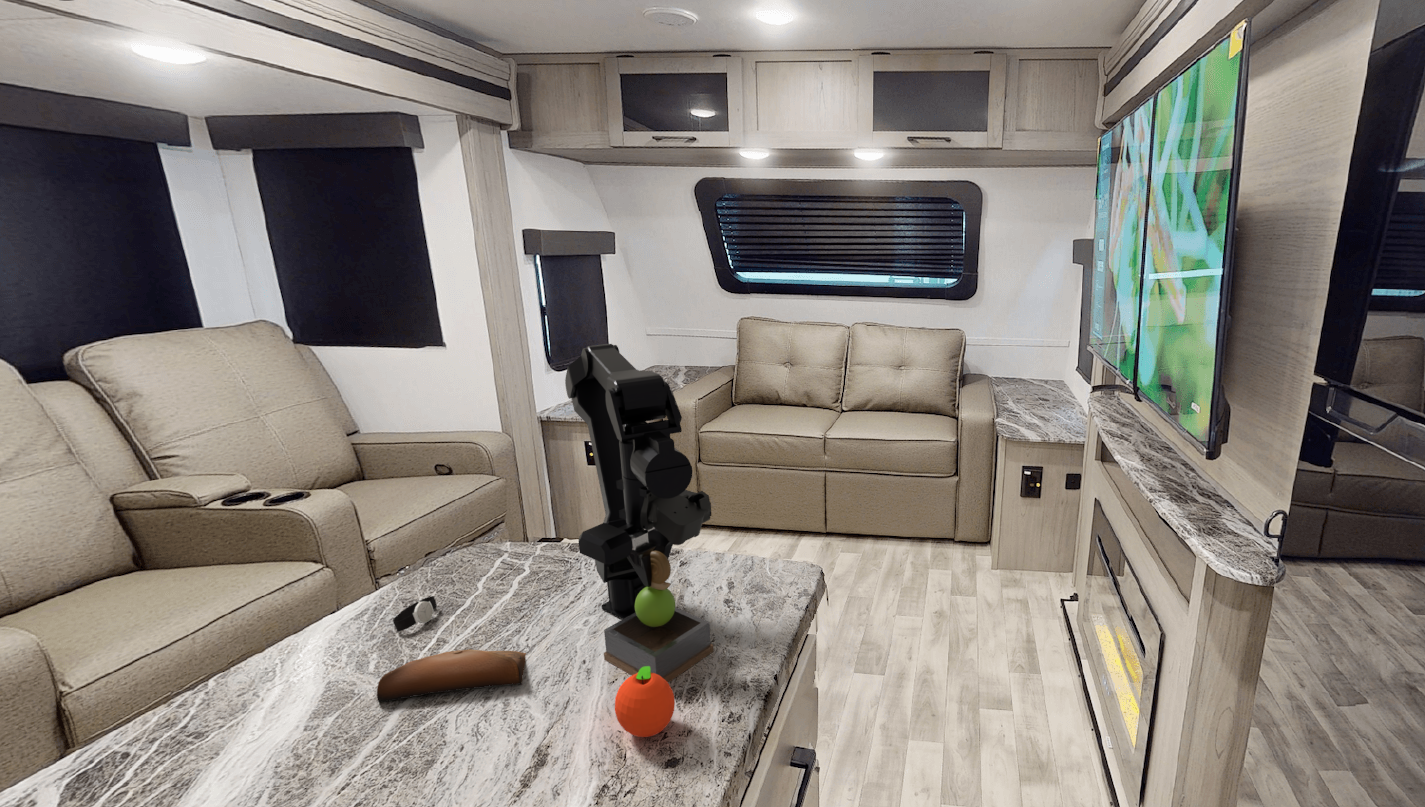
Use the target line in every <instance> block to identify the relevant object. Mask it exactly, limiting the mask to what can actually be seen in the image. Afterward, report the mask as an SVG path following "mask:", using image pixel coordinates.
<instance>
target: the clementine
mask: <svg viewBox="0 0 1425 807" xmlns="http://www.w3.org/2000/svg"><path fill="white" fill-rule="evenodd" d="M650 670H651V669H650V666H644V667H642V668H641V669H640V670H639V672H638V673H636V674H634V675H630V676H629V677H627V678H626V679H625V680H624V681H623V683H621V685H620V686H619V688H618V690H617V693H616V695H615V700H614V711H615V717H616V719H617V721H618V723H619V725H620V726H621V728H623V730H624V731H625V732H627V733H629V735H632V736H634V737H638V738H647V737H648V738H649V737H653V736H655V735H657V734H659V733H661V732H662V731H663V730H664V729H665V728H666V727H667V726H668V725H669V723H670V722H671V720H672V717H673V715H674V712H675V706H676V705H675V702H676V701H675V694H674V691H673V689H672V687H671V685H670V683H668V682H667V681H666V680H665V679H664V678H662V677H661V676H660V675H658V674H655V673H651V672H650Z"/></svg>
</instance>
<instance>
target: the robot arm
mask: <svg viewBox="0 0 1425 807" xmlns="http://www.w3.org/2000/svg"><path fill="white" fill-rule="evenodd" d="M619 349H620V348H619V346H618V345H617V344H613V343H605V344H598V345H597V344H594V345H588V346H586V347H585V348H582V351H581V355H580V356H579V357H578V358H576V359H575V360H574V361H573V362H571V363H569V365H568V366H567V368H566V374H565V379H564V380H565V391H566V395H567V397H568V399H571V401H572V407H573V411H574V412H575V413H576V414H577V415H578V416H579V418H581V420H583V422H584V423H586V425H587V428H588V433H589V439H590V444H591V449H592V453H593V459H594V464H595V470H596V475H597V478H598V483H599V488H600V493H601V498H602V503H603V508H604V512H605V516H604V518H603V522H602V523H601V524H597V525H596V526H593V527H590V528H588V529H586V530H584V531H582V532H581V534H580V535H579V537H578V549H579V551H578V552H579V554H581V555H582V556H583V555H584V556H585V557H588V558H590V559H593V560H594V562H595V568H596V571H597V574H598V575H599V577H600V579H601V581H602V582H603V583H604V584H605V583H607V594H608V601H607V602H604V603H602V604H601V610H603V611H605V612H608V613H609V614H611V615H613V616H615V617H617V618H620V619H621V620H623V619H624V618H626V617H628V616H630V615H631V614H633V613H635V600H636V597H637V595H638V594H639V592H640V591H641V590H642V589H644V588H645V587H650V586H651V580H652V574H651V557H650V554H651V552H652V551H659V552H661V553H663V554H664V555H665V556H666V557H667V558H668V559H669V557H670V554H671V551H672V548H673V546H674V545H675V546H680V545H683V544H685V543H686V542H687V541H688V540H691V539H692V538H696V537H698V536H699V535H700V533H701V530H702V526H703V524H704V523H706V522H708V521H710V520H711V517H712V503H711V501H710V500H711V499H710V496H709V494H707V493H706V492H704V491H703V490H701V491H698V492H694V491H691V490H687V488H688V487H689V485H690V483H691V481H692V478H693V465H692V464H691V462H690V459H688V457H687V456H686V455H685V454H684V453H683V452H682V451H680V450H679V449H678V448H676V446H675V440H674V439H672V438H671V435H672V434H678V433H682V426H681V421H682V419H683V417H682V413H681V411H680V409H679V406H678V404H677V400H676V398H675V395H674V392H673V390H672V389H671V386H670V385H669V383H668V381H665V379H664V378H663V376H662V375H661V374H660V373H657V372H654V371H651V370H639V369H637V368H636V367H635V366H634V365H632V364H631V362H629V360H627V359H626V358H625V356H624V355H622V354H621V353H620V350H619ZM656 420H657V421H656ZM658 420H659V421H658ZM649 421H651V422H649Z"/></svg>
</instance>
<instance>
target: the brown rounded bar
mask: <svg viewBox="0 0 1425 807" xmlns="http://www.w3.org/2000/svg"><path fill="white" fill-rule="evenodd" d="M526 655H527V653H526V652H523V651H517V650H481V649H471V648H470V649H462V650H461V649H458V650H451V651H445V652H440V653H437V654H434V655H433V654H432V655H429V656H425V657H422V658H418V659H414V660H411V661H409V662H406V663H405V664H403V665H401V666H399V667H397V668H395V669H392V670H391V671H389V672H387V673H385V674H384V675H383V676H381V678H380V679H379V681H378V683H377V684H378V685H377V690H376V699H377V701H378V703H382V702H383V703H384V702H389V701H390V702H391V701H399V700H401V699H407V698H408V699H409V698H413V697H415V696H416V697H417V696H424V695H428V694H432V693H435V694H436V693H443V692H444V693H445V692H455V691H461V690H468V689H470V690H471V689H481V688H489V687H497V686H505V685H506V686H507V685H508V686H509V685H517V684H519V685H523V679H524V671H525V666H526Z"/></svg>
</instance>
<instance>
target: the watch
mask: <svg viewBox="0 0 1425 807" xmlns="http://www.w3.org/2000/svg"><path fill="white" fill-rule="evenodd" d="M436 608H438V606H437V601H436V598H435V596H433V595H431V596H428V597H424V598H422V599H420V600H418V601H416V602H415V603H413V604H411V605H409V606H408V607H405V608H404V609H403V610H402V611H401V612H399V613H398V614H397V615H395V617H394V618H393V619H392V622H393V624H394V628H395V629H396V631H397V632H402V631H404V630H408V629H409V628H411V627H412V626H414V625H415V624H426V623H427V622H429V621H430V620H432V618H433V614H434V612H435V609H436Z"/></svg>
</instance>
